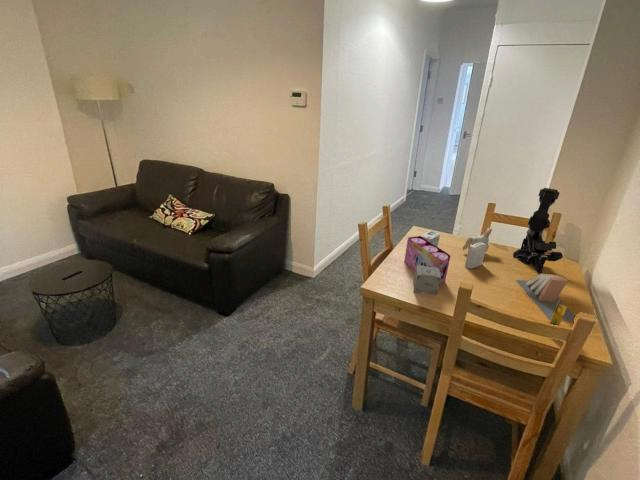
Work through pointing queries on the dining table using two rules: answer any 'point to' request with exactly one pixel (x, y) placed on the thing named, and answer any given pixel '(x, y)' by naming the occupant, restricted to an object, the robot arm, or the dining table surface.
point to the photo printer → (475, 255)
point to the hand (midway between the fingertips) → (539, 273)
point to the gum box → (426, 255)
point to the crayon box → (558, 314)
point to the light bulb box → (431, 237)
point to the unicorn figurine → (478, 239)
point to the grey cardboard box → (426, 279)
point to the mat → (546, 303)
